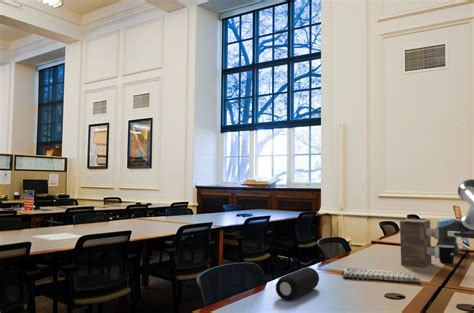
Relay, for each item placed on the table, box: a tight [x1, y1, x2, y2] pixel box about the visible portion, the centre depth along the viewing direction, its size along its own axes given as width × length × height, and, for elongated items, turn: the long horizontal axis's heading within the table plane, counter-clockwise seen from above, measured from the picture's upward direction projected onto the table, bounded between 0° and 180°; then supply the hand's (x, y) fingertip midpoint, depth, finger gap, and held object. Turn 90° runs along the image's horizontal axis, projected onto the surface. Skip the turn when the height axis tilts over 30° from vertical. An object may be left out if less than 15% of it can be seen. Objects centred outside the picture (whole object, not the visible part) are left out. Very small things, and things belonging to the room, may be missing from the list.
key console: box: [399, 218, 432, 269], centre depth 233 cm, size 16×13×26 cm
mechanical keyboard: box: [341, 266, 421, 285], centre depth 201 cm, size 38×19×3 cm, turn 74°
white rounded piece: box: [426, 245, 439, 259], centre depth 229 cm, size 7×12×7 cm, turn 51°
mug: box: [438, 245, 455, 265], centre depth 236 cm, size 12×9×10 cm
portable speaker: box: [275, 267, 320, 301], centre depth 173 cm, size 26×10×10 cm, turn 143°
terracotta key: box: [426, 226, 439, 240], centre depth 229 cm, size 7×12×7 cm, turn 51°
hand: (447, 233), depth 222 cm, fingers closed
